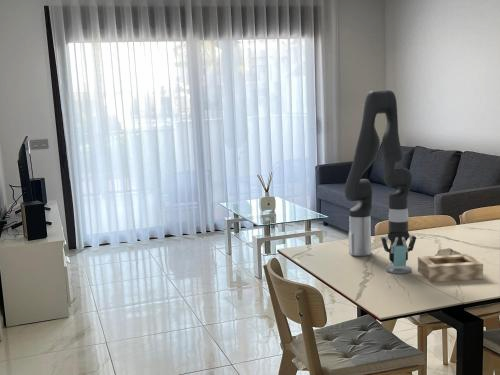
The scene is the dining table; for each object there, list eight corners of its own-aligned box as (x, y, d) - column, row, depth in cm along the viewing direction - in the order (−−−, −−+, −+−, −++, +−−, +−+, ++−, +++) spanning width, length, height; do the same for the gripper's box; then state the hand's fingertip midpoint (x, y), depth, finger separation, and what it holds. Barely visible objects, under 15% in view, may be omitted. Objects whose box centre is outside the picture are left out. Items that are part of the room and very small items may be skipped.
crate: (429, 281, 218) (429, 266, 217) (417, 271, 232) (417, 256, 231) (482, 278, 219) (483, 263, 218) (467, 268, 232) (467, 254, 232)
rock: (458, 265, 237) (458, 255, 237) (431, 261, 244) (431, 251, 244) (467, 259, 246) (467, 249, 245) (441, 255, 252) (441, 246, 252)
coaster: (389, 275, 228) (389, 273, 228) (383, 267, 238) (383, 265, 238) (415, 273, 229) (415, 271, 229) (407, 266, 239) (407, 264, 238)
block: (394, 266, 231) (394, 246, 230) (391, 263, 235) (391, 243, 234) (405, 265, 231) (405, 246, 230) (402, 262, 235) (402, 243, 234)
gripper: (382, 222, 226) (383, 265, 229) (419, 220, 227) (419, 263, 230) (377, 218, 234) (378, 260, 236) (413, 216, 234) (413, 258, 237)
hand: (398, 261), depth 233 cm, fingers closed on block, 4 cm apart
